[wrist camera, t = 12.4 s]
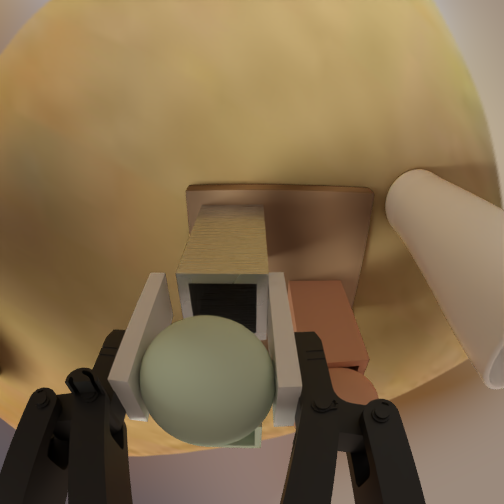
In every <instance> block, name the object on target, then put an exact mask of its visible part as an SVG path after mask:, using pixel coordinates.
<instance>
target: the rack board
mask: <svg viewBox="0 0 504 504" xmlns="http://www.w3.org/2000/svg"><path fill="white" fill-rule="evenodd" d="M186 200H187V211H188V222H189V232H190V234H191V231H192V229H193V226H194V224H195V221H196V218H197V216H198V213H199V211H200V208H201V206H202V205H263V208H264V220H265V232H266V244H267V257H268V270H269V272H284V278H285V284H286V289H287V295H288V285H289V281H325V280H341V283H342V285H343V288H344V290H345V293H346V296H347V298H348V301H349V303H350V306H351V309H352V307H353V303H354V299H355V294H356V290H357V286H358V281H359V276H360V272H361V267H362V262H363V257H364V252H365V247H366V242H367V236H368V231H369V225H370V219H371V213H372V207H373V200H374V193H373V192H372V191H371V190H370V189H369V188H362V187H342V186H317V185H271V184H232V185H189V187H188V188H187V190H186ZM260 341H261V342H262V343H263V345H264V346H265V348H266V349H267V351H268V353H269V349H268V336H267V335H266V340H260Z"/></svg>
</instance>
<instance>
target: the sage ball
mask: <svg viewBox="0 0 504 504" xmlns="http://www.w3.org/2000/svg"><path fill="white" fill-rule="evenodd" d="M140 389H141V395H142V398H143V401H144V404H145V406H146V408H147V410H148V412H149V413H150V415H151V416H152V418H153V419H154V420H155V422H156V423H157V424H158V425H159V426H160V427H161V428H162V429H163V430H165V431H166V432H167V433H169V434H170V435H172V436H173V437H175V438H177V439H179V440H181V441H183V442H186V443H189V444H193V445H197V446H206V447H213V446H222V445H227V444H230V443H233V442H236V441H238V440H240V439H242V438H244V437H246V436H247V435H249V434H250V433H251V432H253V431H254V430H255V429H256V428H257V427H258V426H259V425H260V424H261V423H262V421H263V420H264V419H265V418H266V416H267V414H268V412H269V411H270V408H271V406H272V403H273V401H274V396H275V371H274V365H273V362H272V359H271V357H270V355H269V353H268V351H267V349H266V348H265V346H264V345H263V343H262V342H261V341H260V340H259V339H258V337H257V336H256V335H255V334H254V333H252V332H251V331H250V330H249V329H247V328H246V327H244V326H243V325H241V324H239V323H237V322H235V321H233V320H230V319H227V318H223V317H219V316H210V315H201V316H192V317H188V318H185V319H182V320H179V321H177V322H175V323H173V324H171V325H169V326H168V327H167V328H165V329H164V330H163V331H161V332H160V333H159V334H158V335H157V336H156V337H155V339H154V340H153V341H152V342H151V344H150V345H149V347H148V349H147V350H146V352H145V355H144V357H143V360H142V364H141V368H140Z"/></svg>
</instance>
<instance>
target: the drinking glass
mask: <svg viewBox="0 0 504 504" xmlns="http://www.w3.org/2000/svg"><path fill="white" fill-rule="evenodd" d="M385 212H386V217H387V219H388V222H389V224H390V225H391V227H392V228H393V229H394V231H395V232H396V233H397V234H398V235H399V237H400V238H401V240H402V241H403V243H404V244H405V246H406V248H407V249H408V251H409V253H410V254H411V256H412V258H413V259H414V261H415V263H416V264H417V266H418V268H419V270H420V271H421V273H422V275H423V277H424V278H425V280H426V282H427V284H428V286H429V288H430V289H431V291H432V293H433V295H434V297H435V299H436V301H437V303H438V305H439V307H440V309H441V311H442V312H443V314H444V316H445V318H446V320H447V322H448V324H449V326H450V327H451V329H452V331H453V333H454V335H455V336H456V338H457V340H458V341H459V343H460V345H461V346H462V348H463V350H464V351H465V353H466V355H467V356H468V358H469V360H470V361H471V363H472V365H473V366H474V368H475V369H476V371H477V372H478V374H479V376H480V377H481V379H482V380H483V382H484V384H485V385H486V386H487V387H488V388H491V389H502V388H504V210H503V209H501V208H499V207H498V206H496V205H494V204H492V203H490V202H488V201H486V200H484V199H482V198H481V197H479V196H477V195H475V194H473V193H471V192H469V191H467V190H465V189H463V188H461V187H459V186H456V185H454V184H452V183H450V182H448V181H446V180H444V179H442V178H440V177H439V176H437V175H436V174H434V173H432V172H430V171H427V170H423V169H415V170H410V171H408V172H405V173H404V174H402V175H401V176H399V177H398V178H397V179H396V180H395V181H394V183H393V184H392V185H391V187H390V189H389V191H388V193H387V196H386V201H385Z"/></svg>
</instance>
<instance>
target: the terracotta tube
mask: <svg viewBox="0 0 504 504" xmlns="http://www.w3.org/2000/svg"><path fill="white" fill-rule="evenodd" d="M288 301H289V307H290V312H291V318H292V324H293V330H294V332H312V331H314V332H315V333H316V334H317V335H318V336H319V338H320V339H321V340H322V344H323V349H324V353H325V357H326V361H327V365H328V369H329V368H348V369H352V370H355V371H357V372H359V373H361V374H362V375H364V372H365V370H366V367H367V365H368V362H369V356H368V353H367V350H366V348H365V345H364V342H363V339H362V336H361V333H360V331H359V328H358V325H357V322H356V320H355V317H354V314H353V311H352V309H351V306H350V303H349V301H348V298H347V296H346V293H345V290H344V288H343V285H342V283H341V280H325V281H289V285H288Z"/></svg>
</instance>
